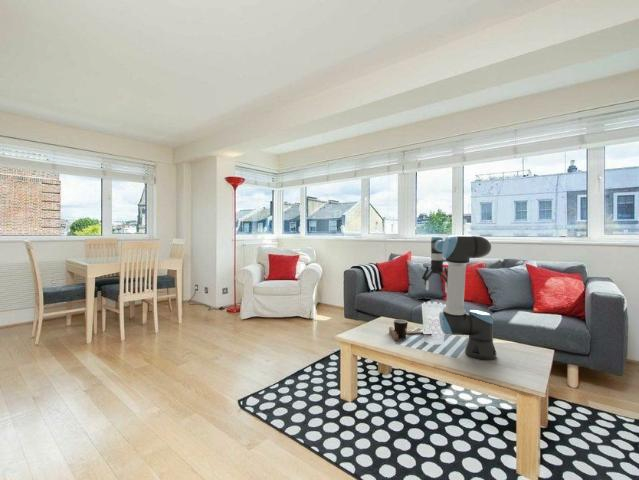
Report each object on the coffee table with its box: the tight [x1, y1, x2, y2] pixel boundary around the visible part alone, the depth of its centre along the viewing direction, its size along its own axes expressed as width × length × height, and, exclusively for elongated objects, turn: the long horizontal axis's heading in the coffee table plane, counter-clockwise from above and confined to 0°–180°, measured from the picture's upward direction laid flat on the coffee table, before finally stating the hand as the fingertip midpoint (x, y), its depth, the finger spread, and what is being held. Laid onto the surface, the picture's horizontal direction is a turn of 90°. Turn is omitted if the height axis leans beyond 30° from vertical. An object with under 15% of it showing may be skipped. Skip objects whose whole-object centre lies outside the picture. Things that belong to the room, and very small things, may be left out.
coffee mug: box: [393, 319, 409, 339], centre depth 204 cm, size 12×9×10 cm
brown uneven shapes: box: [388, 326, 423, 342], centre depth 205 cm, size 17×27×13 cm, turn 90°
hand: (436, 291), depth 218 cm, fingers open, 13 cm apart
